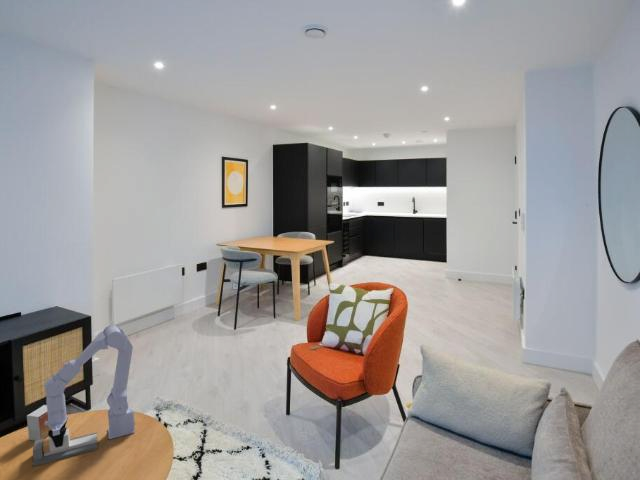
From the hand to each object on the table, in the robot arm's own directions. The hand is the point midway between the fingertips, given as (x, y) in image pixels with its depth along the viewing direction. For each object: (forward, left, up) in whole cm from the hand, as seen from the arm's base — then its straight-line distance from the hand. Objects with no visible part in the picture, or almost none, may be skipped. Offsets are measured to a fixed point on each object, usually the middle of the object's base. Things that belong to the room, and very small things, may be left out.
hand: (59, 442), depth 150 cm
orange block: (+4, 0, -1) cm, 4 cm away
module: (0, 0, -2) cm, 2 cm away
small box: (+7, -15, -4) cm, 17 cm away
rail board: (-2, 0, -4) cm, 4 cm away
